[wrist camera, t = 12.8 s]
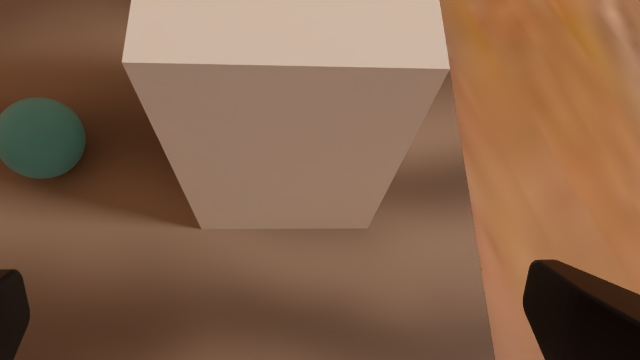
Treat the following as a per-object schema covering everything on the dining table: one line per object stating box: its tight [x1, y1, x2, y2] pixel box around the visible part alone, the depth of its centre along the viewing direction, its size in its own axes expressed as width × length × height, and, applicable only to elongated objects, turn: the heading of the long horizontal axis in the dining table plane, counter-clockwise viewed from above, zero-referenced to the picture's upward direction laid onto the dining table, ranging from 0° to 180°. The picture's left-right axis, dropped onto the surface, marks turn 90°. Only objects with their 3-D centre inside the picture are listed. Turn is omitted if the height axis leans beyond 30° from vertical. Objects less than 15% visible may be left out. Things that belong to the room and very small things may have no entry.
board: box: [0, 0, 495, 360], centre depth 21 cm, size 18×24×1 cm
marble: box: [0, 97, 86, 179], centre depth 19 cm, size 3×3×3 cm
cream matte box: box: [122, 0, 450, 229], centre depth 16 cm, size 6×6×10 cm
